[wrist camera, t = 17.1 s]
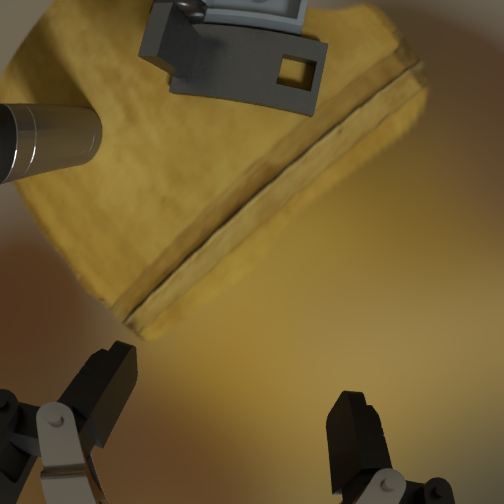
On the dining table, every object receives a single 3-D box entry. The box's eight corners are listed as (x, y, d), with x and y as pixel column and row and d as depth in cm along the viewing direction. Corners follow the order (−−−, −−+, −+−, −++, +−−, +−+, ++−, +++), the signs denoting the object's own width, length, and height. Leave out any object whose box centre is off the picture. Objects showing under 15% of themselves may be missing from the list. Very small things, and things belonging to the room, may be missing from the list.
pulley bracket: (163, 93, 33) (115, 75, 21) (180, 26, 30) (142, -13, 18) (311, 117, 33) (329, 103, 21) (326, 47, 30) (347, 6, 18)
